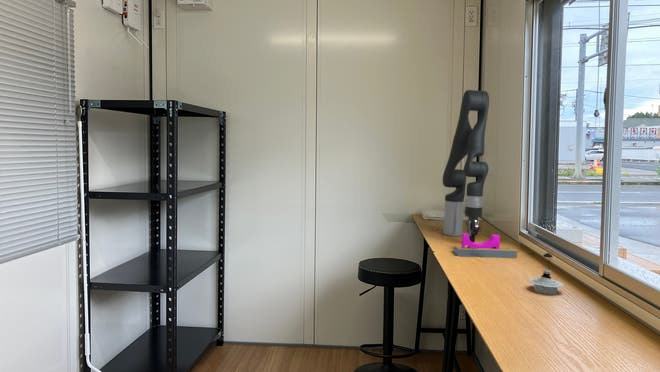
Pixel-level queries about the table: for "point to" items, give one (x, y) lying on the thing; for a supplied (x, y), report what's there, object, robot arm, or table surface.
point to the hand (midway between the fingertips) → (471, 243)
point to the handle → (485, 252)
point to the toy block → (488, 244)
